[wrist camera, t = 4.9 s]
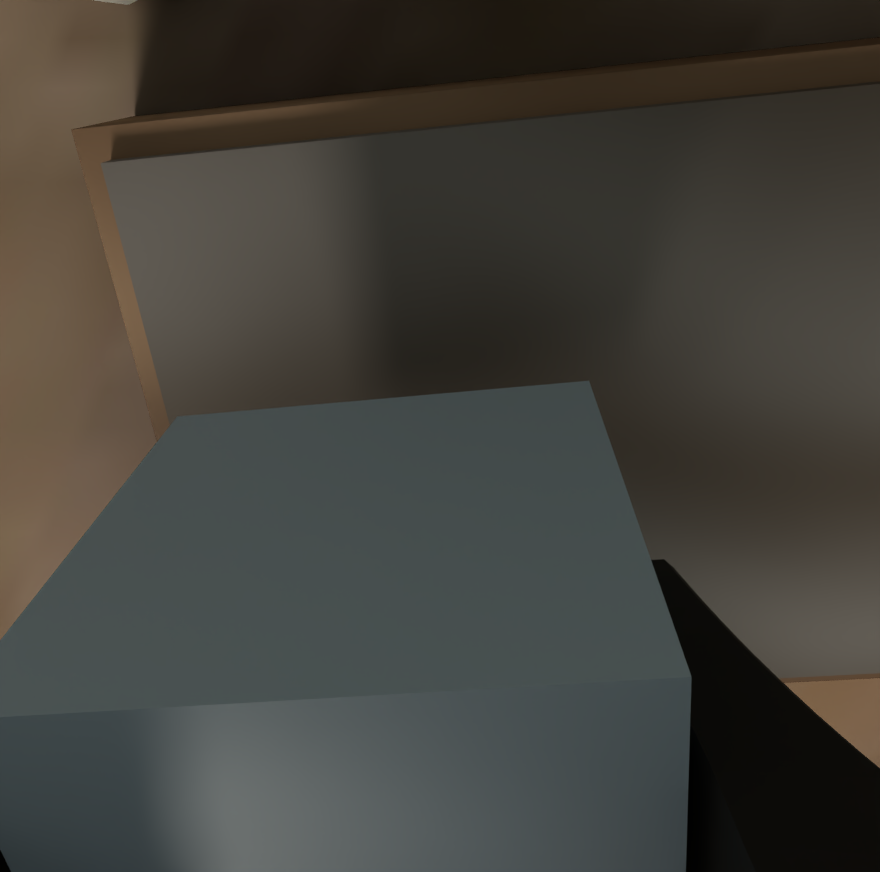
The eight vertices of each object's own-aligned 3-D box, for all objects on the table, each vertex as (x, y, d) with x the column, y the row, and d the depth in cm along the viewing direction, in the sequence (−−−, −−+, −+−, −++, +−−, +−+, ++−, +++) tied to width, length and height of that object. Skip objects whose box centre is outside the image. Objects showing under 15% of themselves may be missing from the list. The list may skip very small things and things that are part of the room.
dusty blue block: (599, 703, 12) (679, 1113, 7) (260, 722, 12) (134, 1122, 8) (588, 380, 10) (690, 677, 5) (176, 416, 10) (-64, 720, 6)
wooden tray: (886, 597, 19) (954, 688, 16) (258, 633, 20) (225, 723, 18) (979, 26, 14) (1100, 22, 11) (133, 116, 15) (59, 132, 12)
